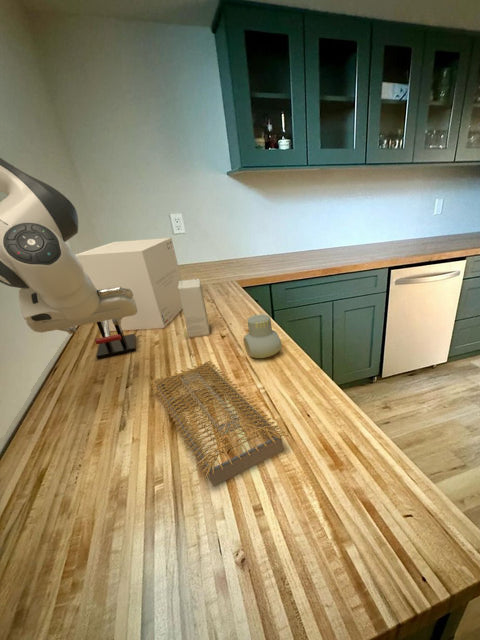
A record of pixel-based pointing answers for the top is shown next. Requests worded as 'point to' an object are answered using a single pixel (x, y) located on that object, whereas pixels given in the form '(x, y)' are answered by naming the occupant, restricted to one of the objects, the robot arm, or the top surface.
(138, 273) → the cube
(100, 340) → the lever
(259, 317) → the air freshener
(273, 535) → the top surface
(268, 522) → the top surface
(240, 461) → the rafter model
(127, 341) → the bracket
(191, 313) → the cosmetic box
